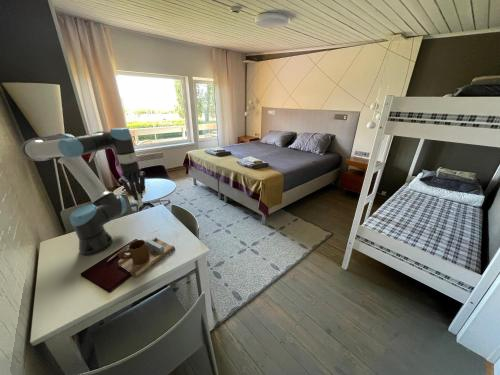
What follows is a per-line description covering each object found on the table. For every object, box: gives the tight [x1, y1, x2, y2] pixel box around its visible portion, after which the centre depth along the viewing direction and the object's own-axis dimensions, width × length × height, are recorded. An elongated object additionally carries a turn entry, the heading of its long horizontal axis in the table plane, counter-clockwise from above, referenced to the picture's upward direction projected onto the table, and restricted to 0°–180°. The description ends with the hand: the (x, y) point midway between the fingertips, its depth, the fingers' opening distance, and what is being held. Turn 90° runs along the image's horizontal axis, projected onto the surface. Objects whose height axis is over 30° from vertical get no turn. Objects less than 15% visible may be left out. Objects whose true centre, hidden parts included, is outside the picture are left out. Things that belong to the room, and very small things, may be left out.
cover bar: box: [145, 238, 164, 254], centre depth 107 cm, size 12×2×4 cm, turn 59°
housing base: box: [117, 237, 176, 279], centre depth 104 cm, size 15×22×3 cm
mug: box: [118, 239, 150, 265], centre depth 99 cm, size 12×8×9 cm, turn 128°
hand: (140, 204), depth 107 cm, fingers closed
